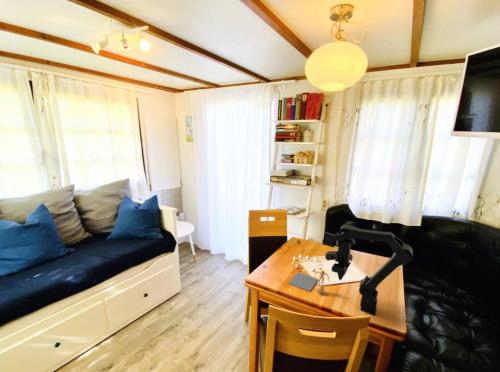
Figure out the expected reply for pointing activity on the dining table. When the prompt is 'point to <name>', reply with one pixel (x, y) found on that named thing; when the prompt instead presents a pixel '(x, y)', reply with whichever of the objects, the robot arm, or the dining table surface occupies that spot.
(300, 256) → the game piece set
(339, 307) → the dining table surface
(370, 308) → the robot arm
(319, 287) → the figurine
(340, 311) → the dining table surface
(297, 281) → the mat
